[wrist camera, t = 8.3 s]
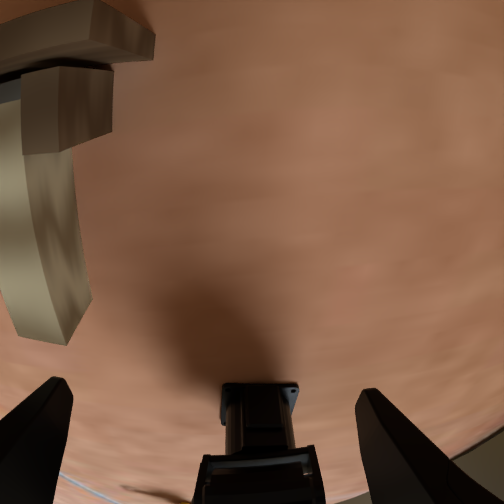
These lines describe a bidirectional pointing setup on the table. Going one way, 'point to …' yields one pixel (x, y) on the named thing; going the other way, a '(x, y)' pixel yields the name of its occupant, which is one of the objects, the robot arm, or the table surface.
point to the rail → (38, 234)
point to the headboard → (68, 70)
